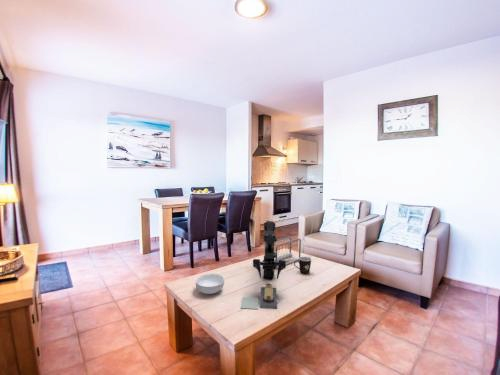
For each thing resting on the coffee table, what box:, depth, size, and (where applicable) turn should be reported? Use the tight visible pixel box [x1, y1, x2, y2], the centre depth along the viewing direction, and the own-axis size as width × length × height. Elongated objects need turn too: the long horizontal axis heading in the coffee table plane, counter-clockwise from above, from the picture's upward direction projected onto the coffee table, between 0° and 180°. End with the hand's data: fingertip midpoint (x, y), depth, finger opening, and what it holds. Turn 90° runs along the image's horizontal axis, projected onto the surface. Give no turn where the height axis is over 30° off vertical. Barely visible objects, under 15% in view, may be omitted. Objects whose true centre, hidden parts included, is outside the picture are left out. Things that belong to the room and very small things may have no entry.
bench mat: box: [240, 296, 260, 310], centre depth 134 cm, size 11×9×1 cm
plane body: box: [259, 282, 278, 309], centre depth 139 cm, size 18×9×6 cm, turn 176°
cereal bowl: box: [195, 273, 225, 295], centre depth 147 cm, size 17×17×7 cm
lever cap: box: [264, 285, 274, 302], centre depth 133 cm, size 3×4×10 cm, turn 86°
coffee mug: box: [293, 256, 312, 276], centre depth 175 cm, size 12×9×10 cm
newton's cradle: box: [274, 235, 302, 270], centre depth 193 cm, size 30×10×18 cm, turn 134°
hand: (268, 278), depth 138 cm, fingers open, 9 cm apart
